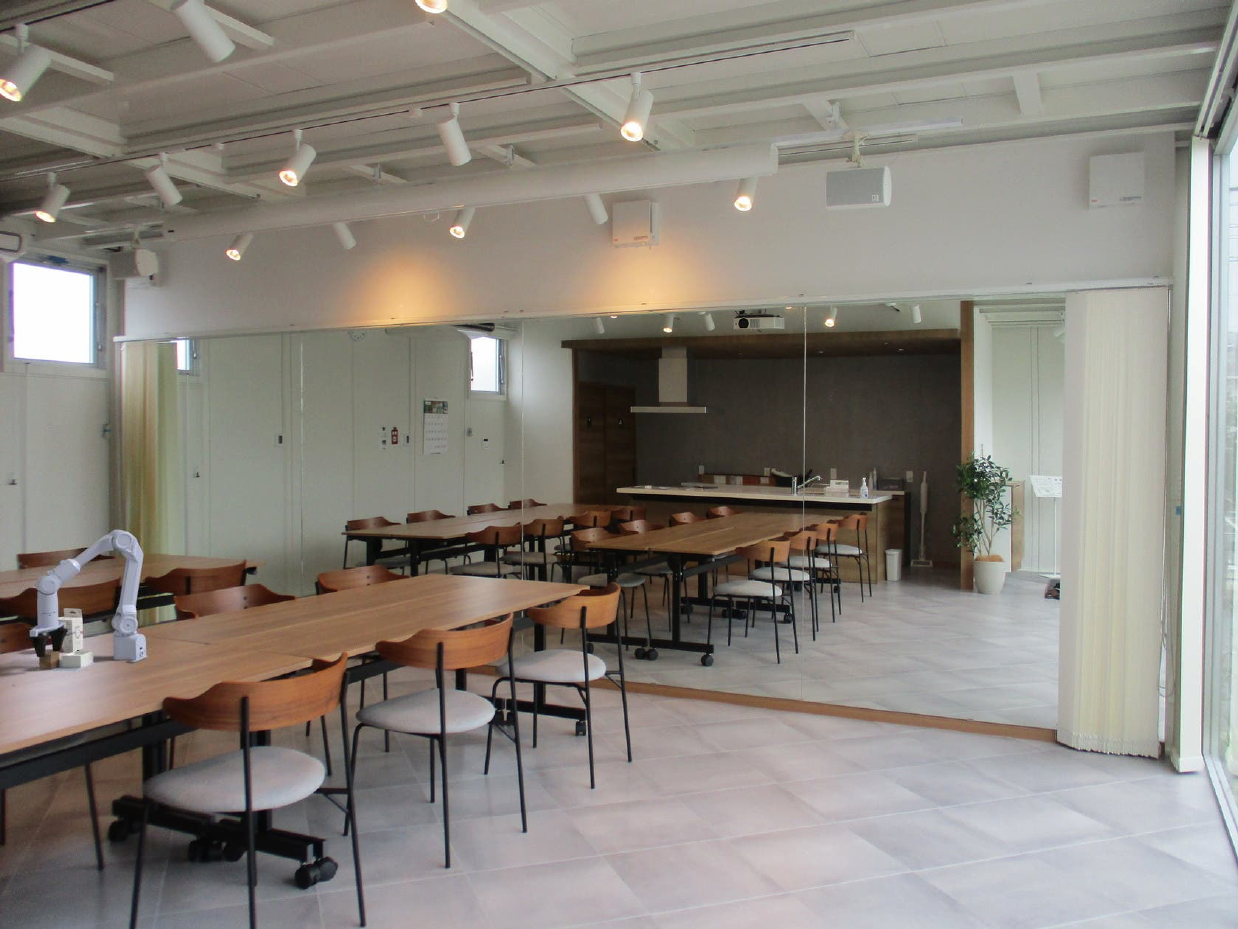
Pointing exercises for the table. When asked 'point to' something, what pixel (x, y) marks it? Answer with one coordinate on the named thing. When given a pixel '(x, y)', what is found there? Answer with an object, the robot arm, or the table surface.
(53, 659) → the walnut block
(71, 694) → the table surface
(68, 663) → the blueprint board
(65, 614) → the ink cartridge box
